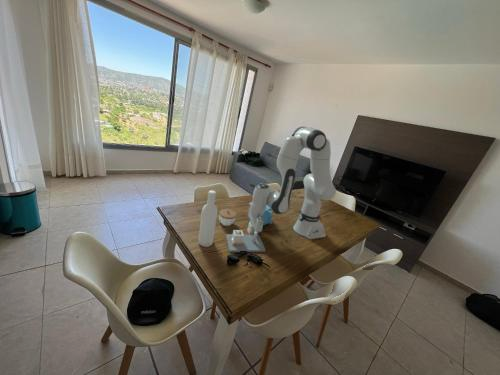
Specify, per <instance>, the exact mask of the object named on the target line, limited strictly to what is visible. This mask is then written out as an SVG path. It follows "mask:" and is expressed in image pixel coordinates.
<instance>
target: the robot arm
mask: <svg viewBox="0 0 500 375" xmlns="http://www.w3.org/2000/svg"><path fill="white" fill-rule="evenodd" d="M304 149H309V150H310V163H309V164H310V165H309V170H310V172H311V173H307V174H306V175H304V178H303V181H302V182H303V186H304V200H303V204H302V206H301V209H300V211H299V215H298V218H297V221H296V222H295V224H294V225H293V227H292V228H293V230H294V232H295V233H297V234H298V235H300V236H302V237H305V238H307V239H308V240H313V239H319V238H321V239H322V238H326V236H327V234H326V232H325V231H324V230H325V229H324V228H325V227H324V225H323V223H322V222H321V221H322V220H323V217H322V216H321V215H319V214H320V211H321V208H322V202H321V200H324V201H330V200H333V198H334V197H335V195H336V193H337V189H336V187H335V185H334V183H333V181H332V176H331V171H330V170H331V169H330V166H331V165H330V164H331V153H332V152H331V142H330V140H329V139H328V138H327V136H326V134H325V133H324V132H323V131H322V130H320V129H317V128H314V127H307V126H299V127H298V128H296V129H295V130H294V131H293V133H292V134H291V136H287V137H286V138H285V140H284V141H283V143H282V145H281V147H280V149H279V153H278V155H277V158H276V168H277V170H278V172H279V173H280V175H281V180H282V181H281V185H280V191H278V190H277V189H275V188H272V187H271V186H269V184H267V183H258V184H256V185H255V188H254V189H253V192H252V198H251V199H252V201H251V202H248V210H247V217H248V216H249V218H250V220H249V222H252V225H253V227H254V230H253V233H254V232H255V231H256V232H258V233H261V232H263V226H264V225H263V219H262V217H261V216H262V215H264V211H265V207H266V205H269V206H270V209H271V211H273V214H277V215H282V214H284V213H285V214H286V213H287V211H288V210H289V209H290V204H291V200H290V199H291V195H292V191H293V189H294V188H293V187H294V185H295V184H294V183H295V180H296V167H297V163H298V160H299V158H300V155H301V153H302V151H303V150H304Z"/></svg>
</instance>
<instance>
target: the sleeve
mask: <svg viewBox="0 0 500 375" xmlns="http://www.w3.org/2000/svg"><path fill="white" fill-rule="evenodd" d="M253 230H254V227H253V225H252V222H250V221H249V222H248V225H247V228H246V232H247V234H250V235H254V233H253ZM257 235H259V232H258V233H257Z"/></svg>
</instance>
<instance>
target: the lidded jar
mask: <svg viewBox="0 0 500 375" xmlns="http://www.w3.org/2000/svg"><path fill="white" fill-rule="evenodd" d="M218 213H219V216H218V219H219V222H220V224H221V225H222V226H224V227H230V226H231V225H233V224H234V223H235V221H236V218H237V212H236V211H235V210H232V209H231V208H224V209H221V210H219V212H218Z"/></svg>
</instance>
